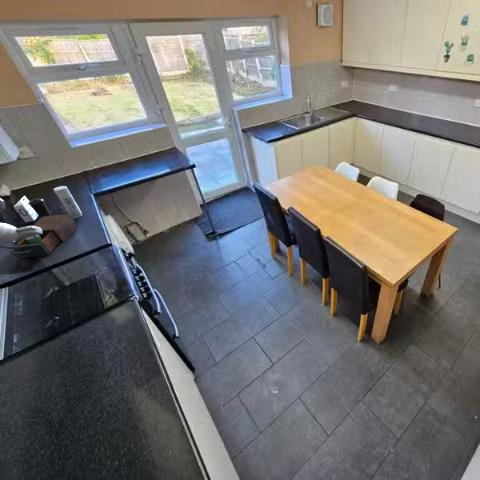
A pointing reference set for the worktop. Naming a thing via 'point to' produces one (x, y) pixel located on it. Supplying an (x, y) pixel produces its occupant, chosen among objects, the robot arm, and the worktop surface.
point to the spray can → (68, 201)
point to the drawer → (37, 246)
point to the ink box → (25, 210)
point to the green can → (34, 240)
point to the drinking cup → (39, 207)
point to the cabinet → (58, 225)
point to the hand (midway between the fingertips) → (24, 238)
